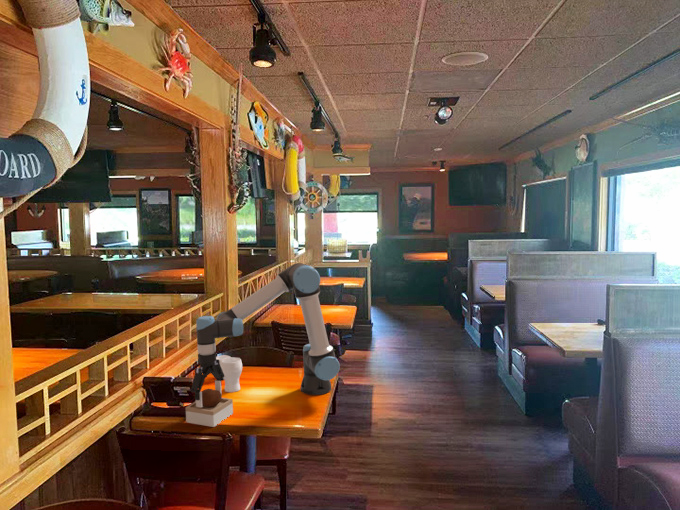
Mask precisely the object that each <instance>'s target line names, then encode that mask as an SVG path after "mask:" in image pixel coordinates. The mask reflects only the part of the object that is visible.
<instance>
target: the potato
mask: <svg viewBox="0 0 680 510" xmlns="http://www.w3.org/2000/svg"><path fill="white" fill-rule="evenodd" d="M200 392H202V406H205V407H213V406H216V405H217V404H219V403H220V401H221V399H222V398H223V397H222V396H223V395H221V392H222V391H221V392H220V391H219V390H215V389H212V388H206V389H204V390H201V391H200Z"/></svg>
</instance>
